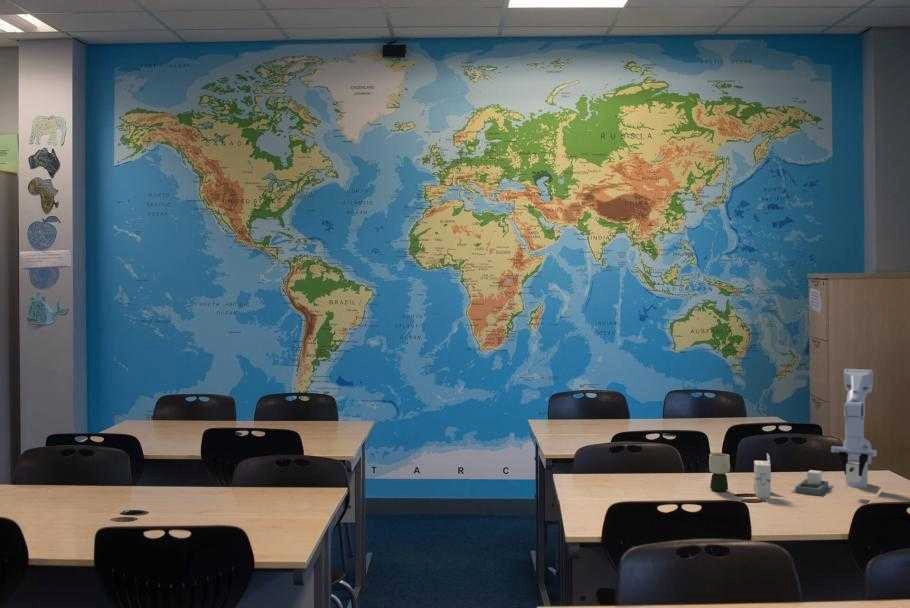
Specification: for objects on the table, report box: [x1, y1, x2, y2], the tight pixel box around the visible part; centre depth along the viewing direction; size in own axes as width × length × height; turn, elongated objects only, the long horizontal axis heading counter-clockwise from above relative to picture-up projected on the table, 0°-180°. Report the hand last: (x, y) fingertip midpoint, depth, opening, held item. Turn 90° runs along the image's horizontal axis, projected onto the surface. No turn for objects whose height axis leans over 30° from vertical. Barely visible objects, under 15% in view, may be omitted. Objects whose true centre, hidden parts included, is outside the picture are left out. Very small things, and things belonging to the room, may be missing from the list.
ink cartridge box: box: [753, 452, 772, 499], centre depth 323 cm, size 9×5×15 cm, turn 168°
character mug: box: [708, 452, 731, 492], centre depth 331 cm, size 11×7×13 cm, turn 23°
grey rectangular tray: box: [790, 478, 835, 498], centre depth 329 cm, size 20×11×3 cm, turn 147°
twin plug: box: [806, 469, 823, 485], centre depth 332 cm, size 7×4×6 cm, turn 147°
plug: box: [845, 462, 861, 483], centre depth 316 cm, size 7×4×6 cm, turn 147°
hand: (853, 474), depth 317 cm, fingers closed on plug, 4 cm apart
